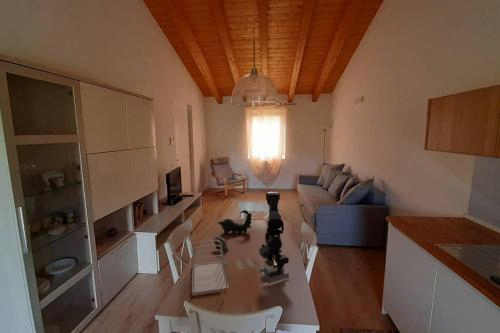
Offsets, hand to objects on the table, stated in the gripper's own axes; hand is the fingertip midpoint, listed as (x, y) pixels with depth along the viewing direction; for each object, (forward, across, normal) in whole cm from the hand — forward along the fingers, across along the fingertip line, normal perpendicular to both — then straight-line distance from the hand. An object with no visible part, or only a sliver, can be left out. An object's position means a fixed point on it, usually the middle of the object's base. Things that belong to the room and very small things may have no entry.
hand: (274, 267), depth 130 cm
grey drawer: (+3, 0, 0) cm, 3 cm away
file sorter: (+5, -12, -32) cm, 35 cm away
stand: (+4, -15, -10) cm, 19 cm away
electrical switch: (+4, -37, -17) cm, 41 cm away
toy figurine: (+4, -59, +1) cm, 59 cm away
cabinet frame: (+4, 0, 0) cm, 4 cm away
